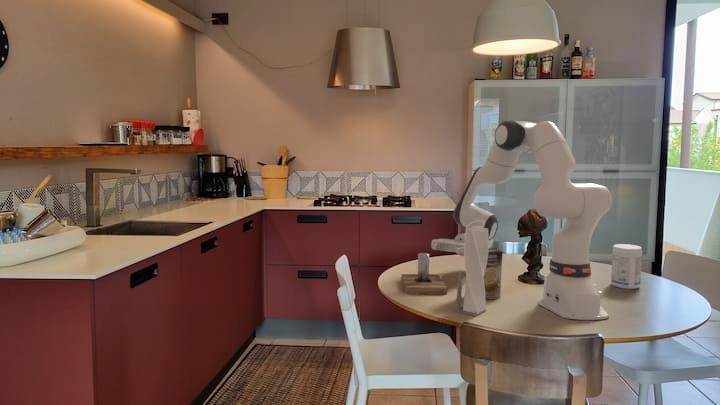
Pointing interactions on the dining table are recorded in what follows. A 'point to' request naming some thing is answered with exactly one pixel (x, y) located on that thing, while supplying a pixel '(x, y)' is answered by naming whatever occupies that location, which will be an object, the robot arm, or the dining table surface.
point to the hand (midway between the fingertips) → (444, 249)
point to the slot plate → (423, 284)
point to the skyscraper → (474, 271)
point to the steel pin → (423, 268)
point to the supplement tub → (626, 266)
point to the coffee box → (493, 274)
